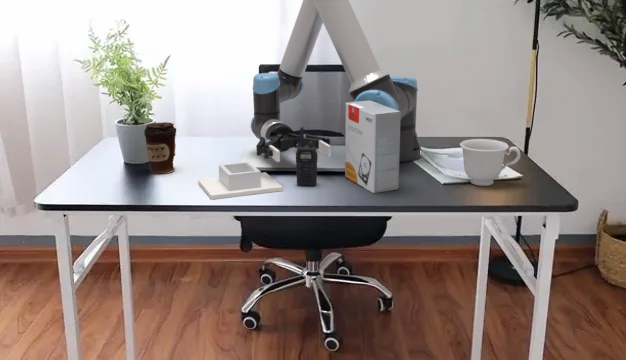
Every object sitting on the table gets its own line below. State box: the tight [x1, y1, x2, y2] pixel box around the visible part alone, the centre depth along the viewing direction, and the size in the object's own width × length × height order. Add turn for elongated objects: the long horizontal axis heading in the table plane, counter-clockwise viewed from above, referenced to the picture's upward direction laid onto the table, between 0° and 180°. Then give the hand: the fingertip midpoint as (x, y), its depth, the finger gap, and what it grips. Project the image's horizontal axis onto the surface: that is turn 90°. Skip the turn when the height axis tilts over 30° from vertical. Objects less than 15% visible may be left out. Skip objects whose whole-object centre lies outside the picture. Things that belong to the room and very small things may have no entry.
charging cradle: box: [197, 161, 284, 200], centre depth 184 cm, size 18×14×5 cm
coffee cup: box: [143, 121, 177, 174], centre depth 197 cm, size 9×8×13 cm
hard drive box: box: [344, 100, 401, 194], centre depth 184 cm, size 16×8×20 cm, turn 25°
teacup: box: [459, 138, 521, 187], centre depth 185 cm, size 12×15×10 cm
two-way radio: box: [295, 126, 319, 187], centre depth 185 cm, size 6×4×15 cm
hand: (304, 153), depth 185 cm, fingers open, 13 cm apart
